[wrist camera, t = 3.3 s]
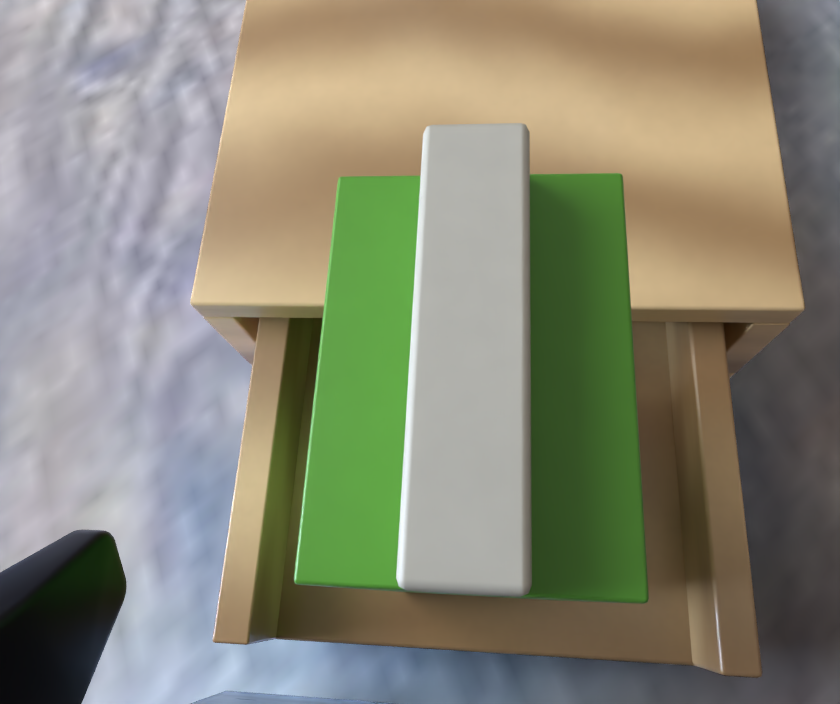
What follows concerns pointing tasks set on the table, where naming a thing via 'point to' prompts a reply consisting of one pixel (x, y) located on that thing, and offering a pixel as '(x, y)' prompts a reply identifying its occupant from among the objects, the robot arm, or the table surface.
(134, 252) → the table surface
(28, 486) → the table surface
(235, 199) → the cabinet
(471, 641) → the drawer
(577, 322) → the green block white ridge
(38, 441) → the table surface
